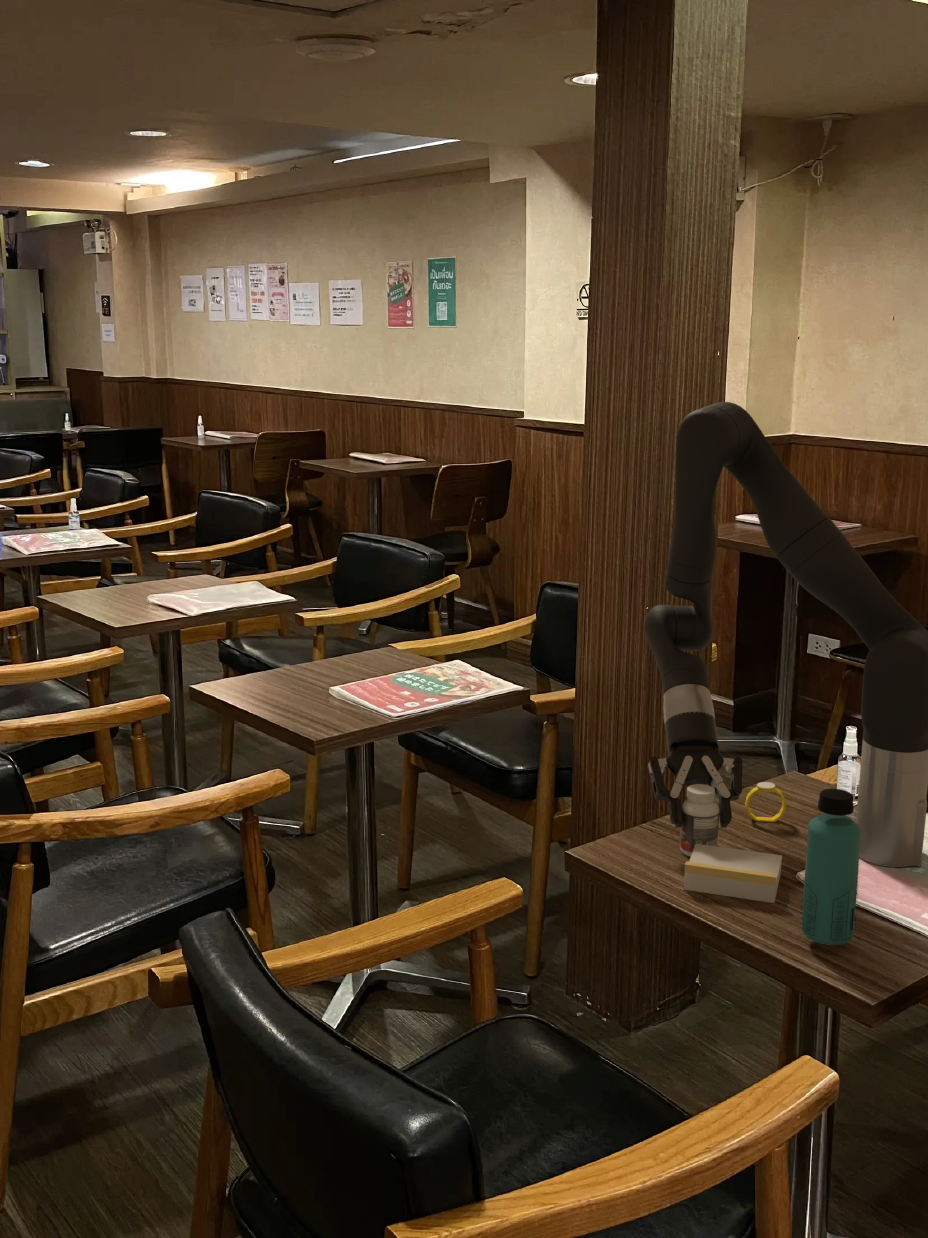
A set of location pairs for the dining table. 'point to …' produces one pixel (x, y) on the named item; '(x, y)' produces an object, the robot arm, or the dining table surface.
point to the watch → (765, 788)
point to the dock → (733, 873)
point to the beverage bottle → (831, 871)
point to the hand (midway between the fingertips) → (702, 825)
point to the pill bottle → (699, 818)
